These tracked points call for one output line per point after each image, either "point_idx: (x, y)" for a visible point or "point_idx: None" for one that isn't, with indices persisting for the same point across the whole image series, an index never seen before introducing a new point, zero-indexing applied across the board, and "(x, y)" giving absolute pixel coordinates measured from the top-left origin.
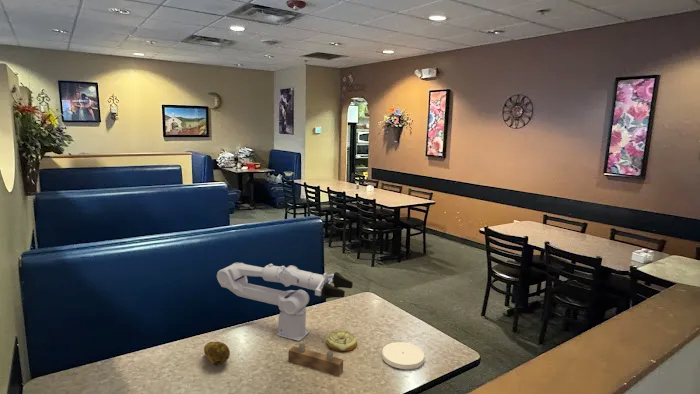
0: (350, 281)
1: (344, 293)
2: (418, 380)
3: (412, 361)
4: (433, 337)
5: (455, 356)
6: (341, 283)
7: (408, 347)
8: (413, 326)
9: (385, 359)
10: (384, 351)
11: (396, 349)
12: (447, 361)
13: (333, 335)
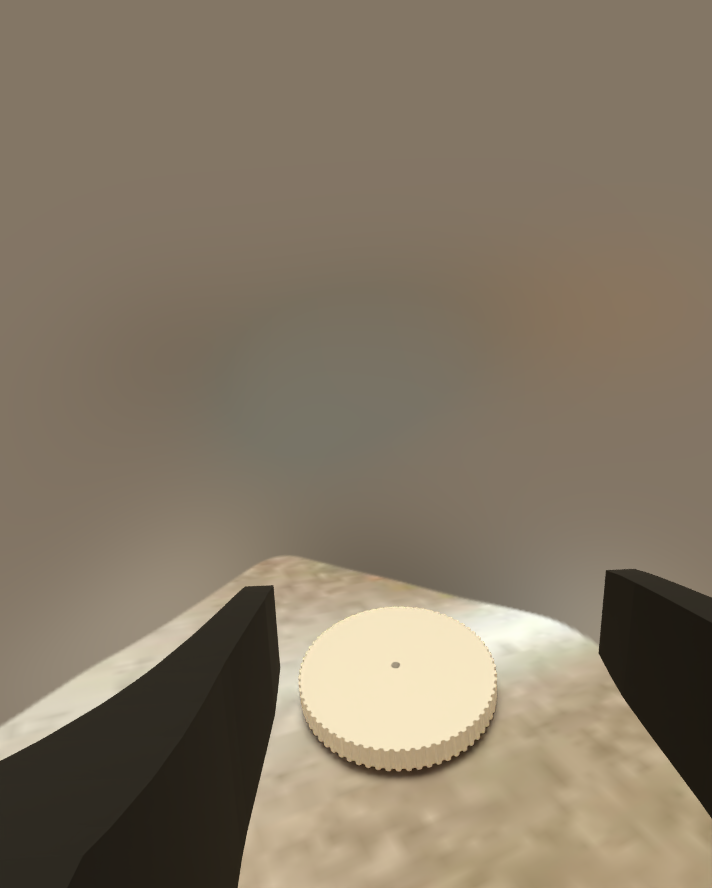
0: (248, 595)
1: (610, 604)
2: (499, 616)
3: (438, 625)
4: (171, 648)
5: (295, 580)
6: (226, 816)
7: (337, 662)
8: None
9: (483, 719)
10: (434, 733)
11: (381, 694)
12: (335, 587)
13: None
